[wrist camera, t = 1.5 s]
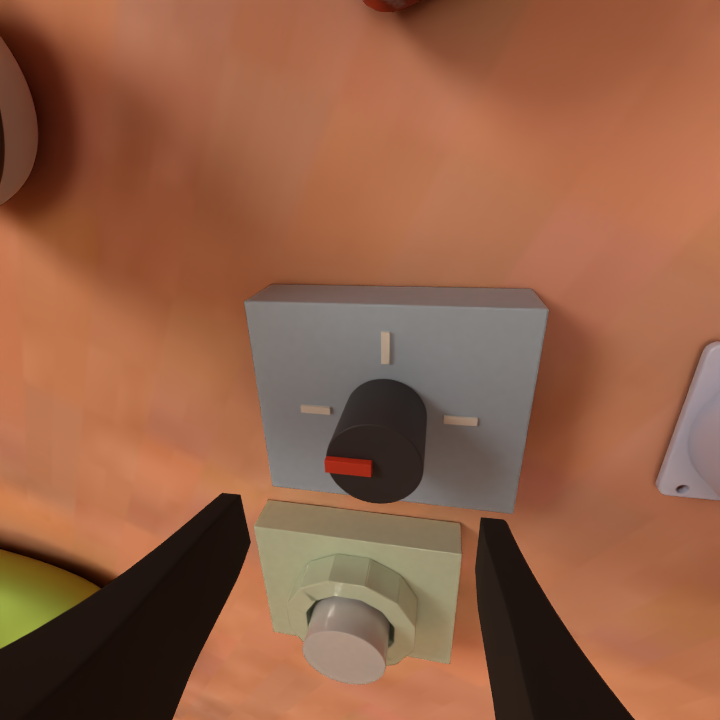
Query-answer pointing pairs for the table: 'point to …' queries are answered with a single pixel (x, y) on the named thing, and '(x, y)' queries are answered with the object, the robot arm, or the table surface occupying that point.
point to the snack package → (389, 4)
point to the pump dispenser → (15, 126)
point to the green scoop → (35, 594)
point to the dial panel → (401, 379)
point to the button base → (363, 571)
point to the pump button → (347, 640)
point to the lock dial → (379, 442)
